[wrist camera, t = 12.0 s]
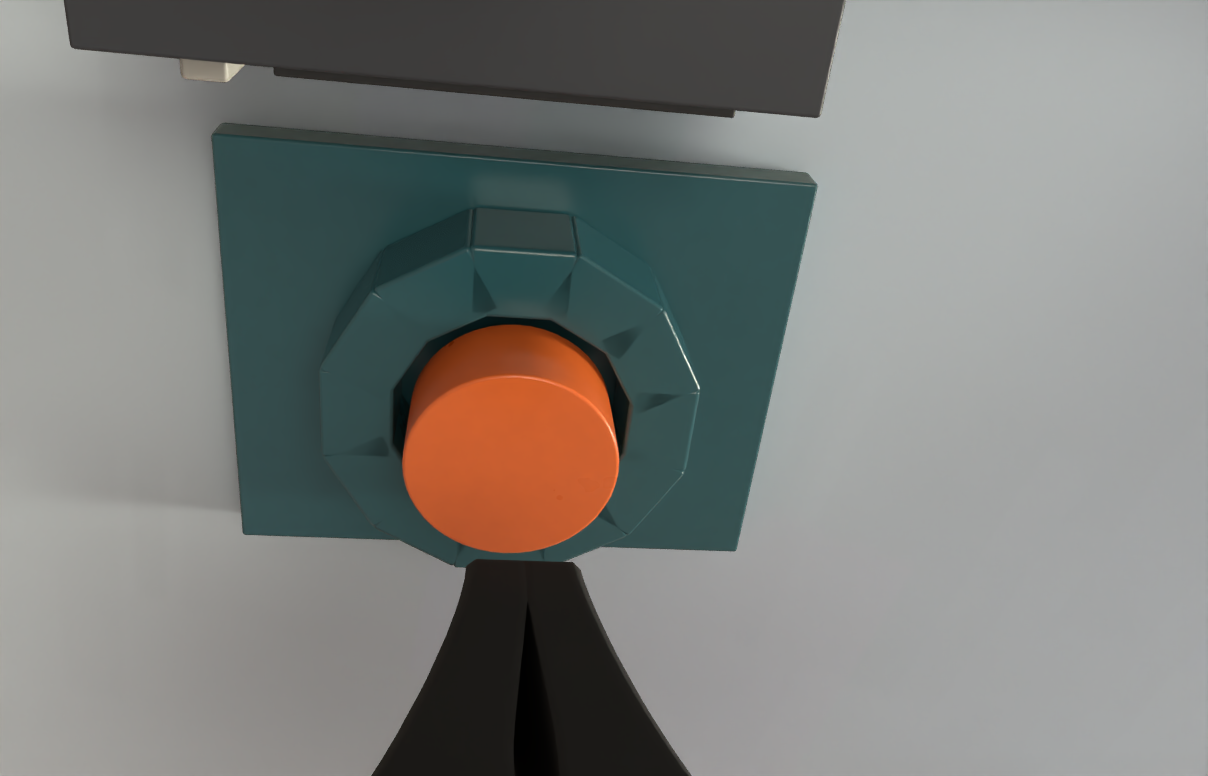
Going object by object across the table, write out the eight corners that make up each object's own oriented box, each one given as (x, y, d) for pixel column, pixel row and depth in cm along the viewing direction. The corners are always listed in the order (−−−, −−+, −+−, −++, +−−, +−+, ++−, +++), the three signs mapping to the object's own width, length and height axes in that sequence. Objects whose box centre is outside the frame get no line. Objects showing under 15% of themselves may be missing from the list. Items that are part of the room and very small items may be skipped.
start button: (620, 329, 17) (631, 381, 15) (597, 496, 18) (606, 558, 17) (412, 316, 16) (403, 368, 15) (408, 488, 18) (400, 551, 16)
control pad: (808, 172, 18) (850, 222, 16) (730, 532, 22) (755, 611, 20) (220, 122, 17) (178, 169, 14) (250, 514, 20) (219, 597, 18)
